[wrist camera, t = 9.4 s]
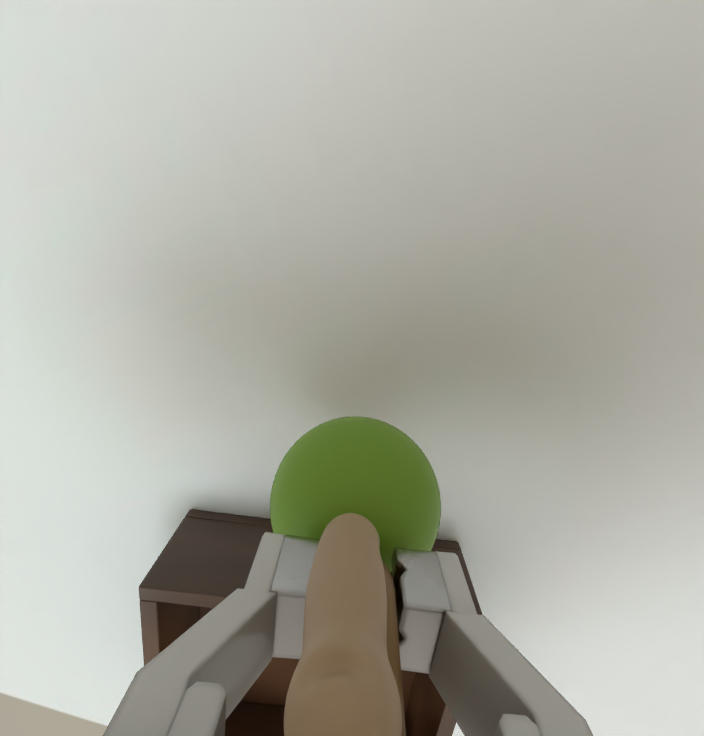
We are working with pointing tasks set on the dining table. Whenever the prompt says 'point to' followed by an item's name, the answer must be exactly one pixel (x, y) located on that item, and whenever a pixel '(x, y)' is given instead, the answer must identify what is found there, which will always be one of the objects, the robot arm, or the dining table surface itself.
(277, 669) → the crate
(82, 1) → the dining table surface
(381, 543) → the snail figurine
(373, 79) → the dining table surface
